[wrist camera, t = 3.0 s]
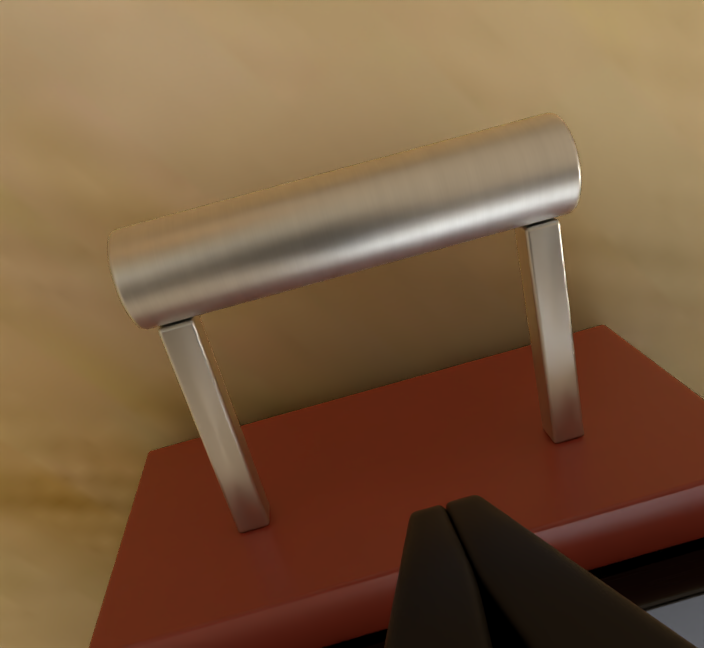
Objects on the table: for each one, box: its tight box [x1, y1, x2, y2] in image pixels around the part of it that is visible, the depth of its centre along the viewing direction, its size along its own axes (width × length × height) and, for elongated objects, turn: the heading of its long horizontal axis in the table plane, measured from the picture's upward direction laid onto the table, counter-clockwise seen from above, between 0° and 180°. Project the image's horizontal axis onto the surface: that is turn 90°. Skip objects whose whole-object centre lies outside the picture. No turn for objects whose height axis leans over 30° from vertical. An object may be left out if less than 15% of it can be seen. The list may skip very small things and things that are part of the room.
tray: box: [89, 113, 704, 648], centre depth 14 cm, size 19×11×6 cm, turn 14°
